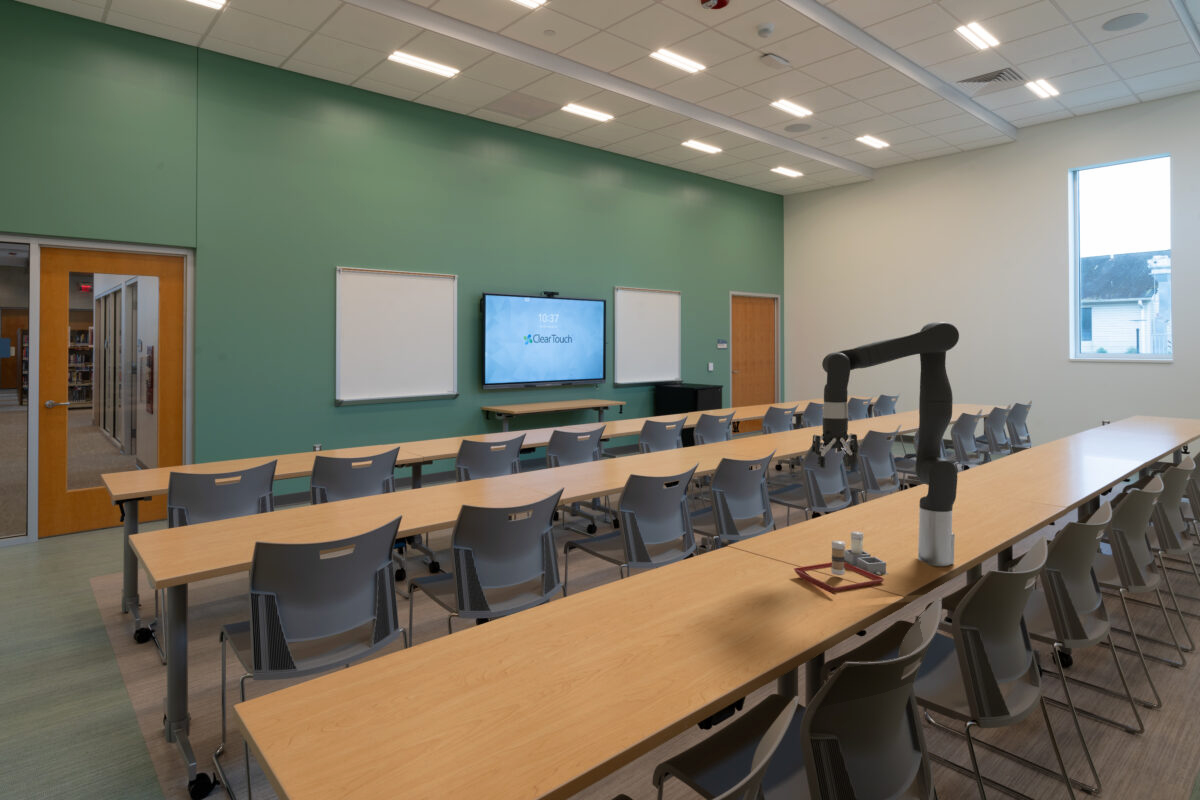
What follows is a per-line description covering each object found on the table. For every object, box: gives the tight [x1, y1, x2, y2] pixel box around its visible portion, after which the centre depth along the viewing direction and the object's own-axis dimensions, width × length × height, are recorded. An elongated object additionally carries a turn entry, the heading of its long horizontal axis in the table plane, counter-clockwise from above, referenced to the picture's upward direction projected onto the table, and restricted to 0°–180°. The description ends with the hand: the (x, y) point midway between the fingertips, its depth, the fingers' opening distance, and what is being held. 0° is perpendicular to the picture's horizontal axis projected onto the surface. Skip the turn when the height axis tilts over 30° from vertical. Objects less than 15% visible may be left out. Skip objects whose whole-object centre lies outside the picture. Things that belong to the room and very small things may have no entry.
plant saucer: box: [793, 561, 885, 596], centre depth 189 cm, size 18×18×3 cm
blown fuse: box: [830, 540, 846, 576], centre depth 189 cm, size 4×4×9 cm
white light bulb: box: [850, 531, 864, 555], centre depth 202 cm, size 4×4×9 cm
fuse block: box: [844, 548, 889, 576], centre depth 199 cm, size 6×16×4 cm, turn 9°
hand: (834, 467), depth 207 cm, fingers open, 8 cm apart
